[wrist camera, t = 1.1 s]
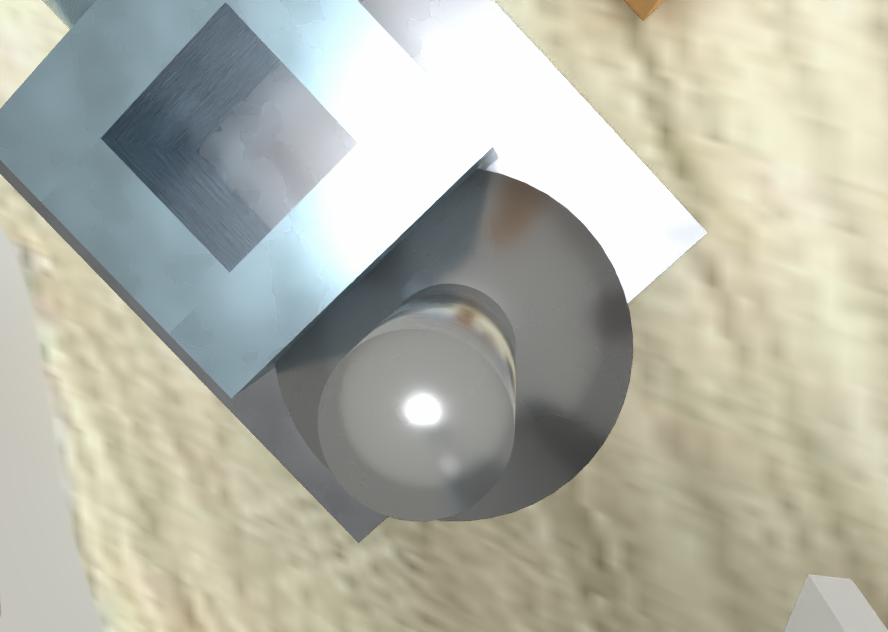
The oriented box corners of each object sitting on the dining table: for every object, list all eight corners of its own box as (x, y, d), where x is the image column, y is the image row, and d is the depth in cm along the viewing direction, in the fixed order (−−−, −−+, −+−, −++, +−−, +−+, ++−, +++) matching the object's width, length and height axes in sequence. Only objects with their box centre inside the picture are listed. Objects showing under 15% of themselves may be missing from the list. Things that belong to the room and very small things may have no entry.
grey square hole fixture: (739, 274, 35) (932, 345, 18) (401, 567, 38) (314, 847, 22) (303, -199, 33) (100, -568, 17) (-5, 147, 37) (-419, 112, 21)
